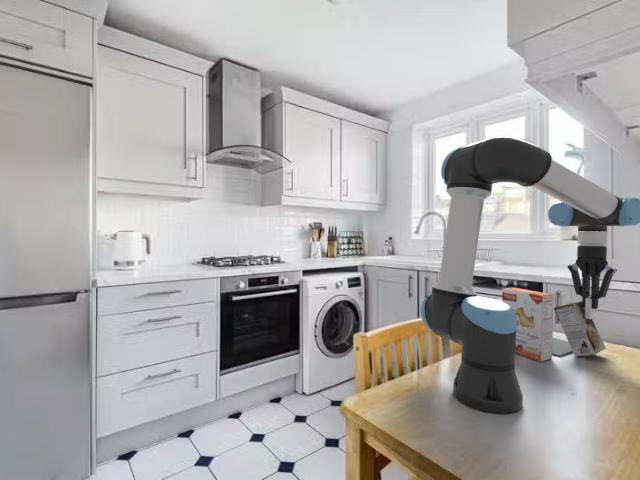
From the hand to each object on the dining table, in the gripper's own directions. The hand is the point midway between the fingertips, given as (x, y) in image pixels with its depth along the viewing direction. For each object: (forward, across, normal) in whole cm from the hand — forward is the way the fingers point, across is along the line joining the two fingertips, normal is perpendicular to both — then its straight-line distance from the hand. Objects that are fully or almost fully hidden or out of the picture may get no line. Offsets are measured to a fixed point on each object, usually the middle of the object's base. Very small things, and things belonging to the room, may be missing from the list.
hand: (589, 318), depth 114 cm
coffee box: (+11, -1, 0) cm, 11 cm away
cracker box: (+13, +11, +16) cm, 23 cm away
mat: (+12, +11, 0) cm, 17 cm away
